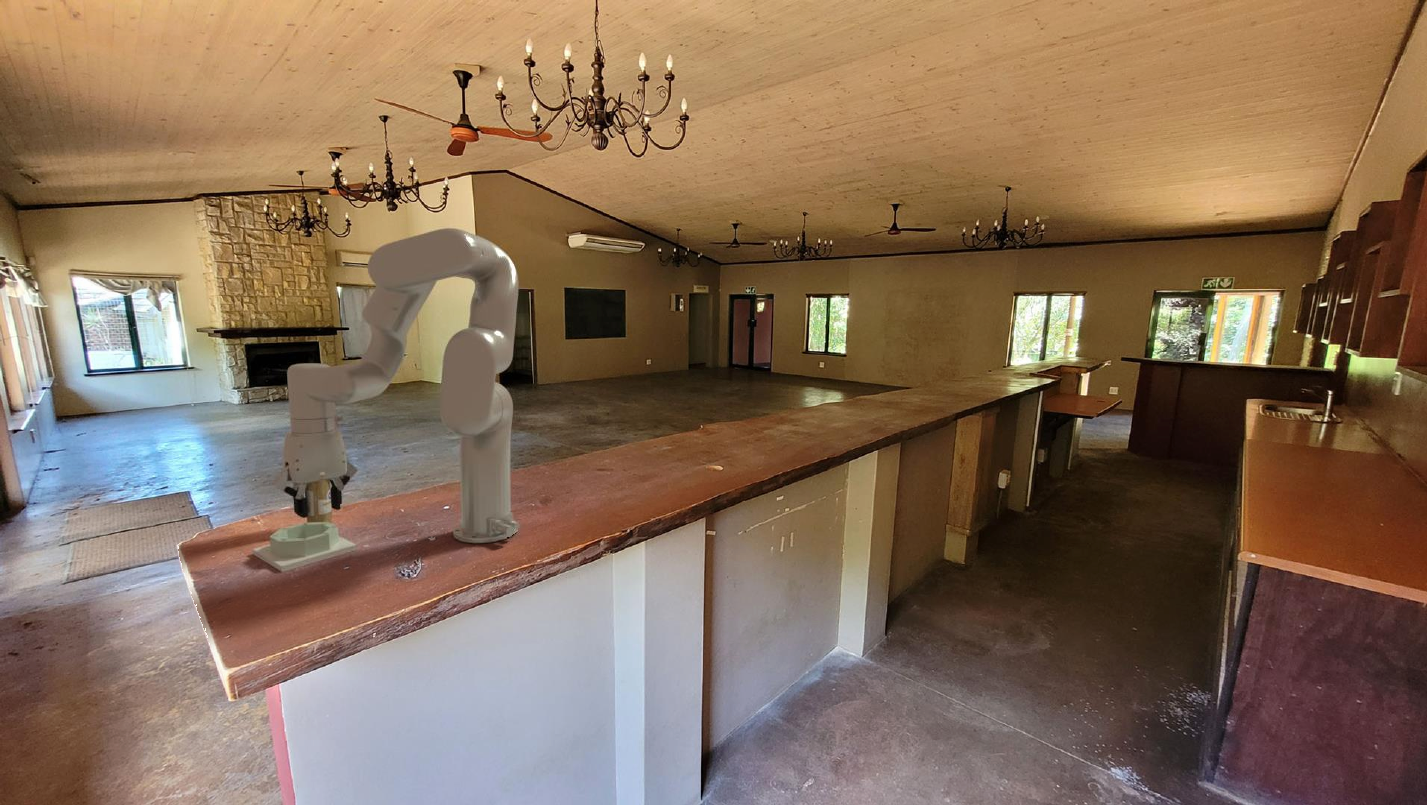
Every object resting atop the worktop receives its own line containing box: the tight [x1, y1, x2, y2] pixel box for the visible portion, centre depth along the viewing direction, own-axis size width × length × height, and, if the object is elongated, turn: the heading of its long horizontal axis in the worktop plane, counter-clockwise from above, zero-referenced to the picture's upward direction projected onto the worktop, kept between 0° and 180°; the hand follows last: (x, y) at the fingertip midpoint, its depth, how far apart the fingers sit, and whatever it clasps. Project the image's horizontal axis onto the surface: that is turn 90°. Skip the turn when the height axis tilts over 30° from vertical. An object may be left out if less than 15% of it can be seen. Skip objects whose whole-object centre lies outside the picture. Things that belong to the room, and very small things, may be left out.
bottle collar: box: [252, 522, 358, 573], centre depth 104 cm, size 12×12×4 cm
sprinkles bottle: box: [304, 472, 334, 525], centre depth 115 cm, size 5×5×13 cm
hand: (319, 511), depth 116 cm, fingers open, 5 cm apart
